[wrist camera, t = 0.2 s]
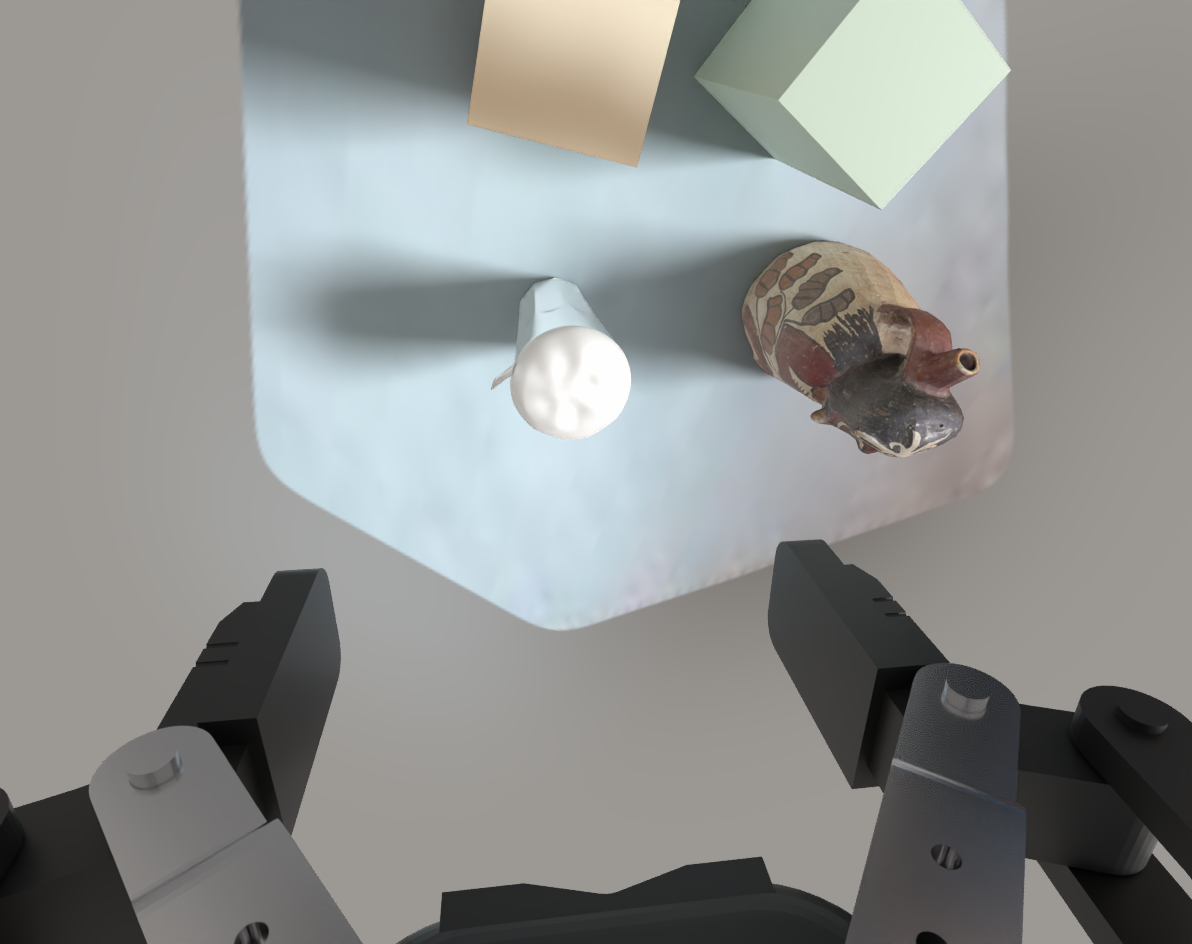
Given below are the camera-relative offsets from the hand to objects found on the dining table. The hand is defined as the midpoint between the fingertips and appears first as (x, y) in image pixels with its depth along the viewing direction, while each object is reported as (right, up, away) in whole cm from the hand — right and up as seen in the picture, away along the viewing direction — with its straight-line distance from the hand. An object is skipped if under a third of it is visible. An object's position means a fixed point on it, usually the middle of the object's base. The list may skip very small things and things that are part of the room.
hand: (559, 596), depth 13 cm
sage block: (+8, +19, +16) cm, 26 cm away
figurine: (+11, +10, +23) cm, 27 cm away
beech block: (-1, +19, +15) cm, 24 cm away
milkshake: (-2, +10, +21) cm, 23 cm away
